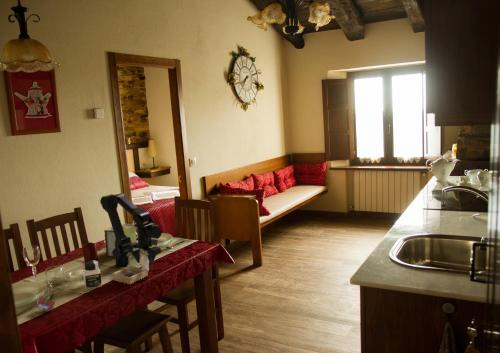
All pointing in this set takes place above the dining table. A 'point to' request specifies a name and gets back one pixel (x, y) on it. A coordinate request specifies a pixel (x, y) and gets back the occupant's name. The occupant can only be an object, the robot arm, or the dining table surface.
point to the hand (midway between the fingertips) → (145, 264)
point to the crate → (131, 270)
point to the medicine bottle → (92, 275)
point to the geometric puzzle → (45, 303)
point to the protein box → (110, 237)
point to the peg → (144, 261)
